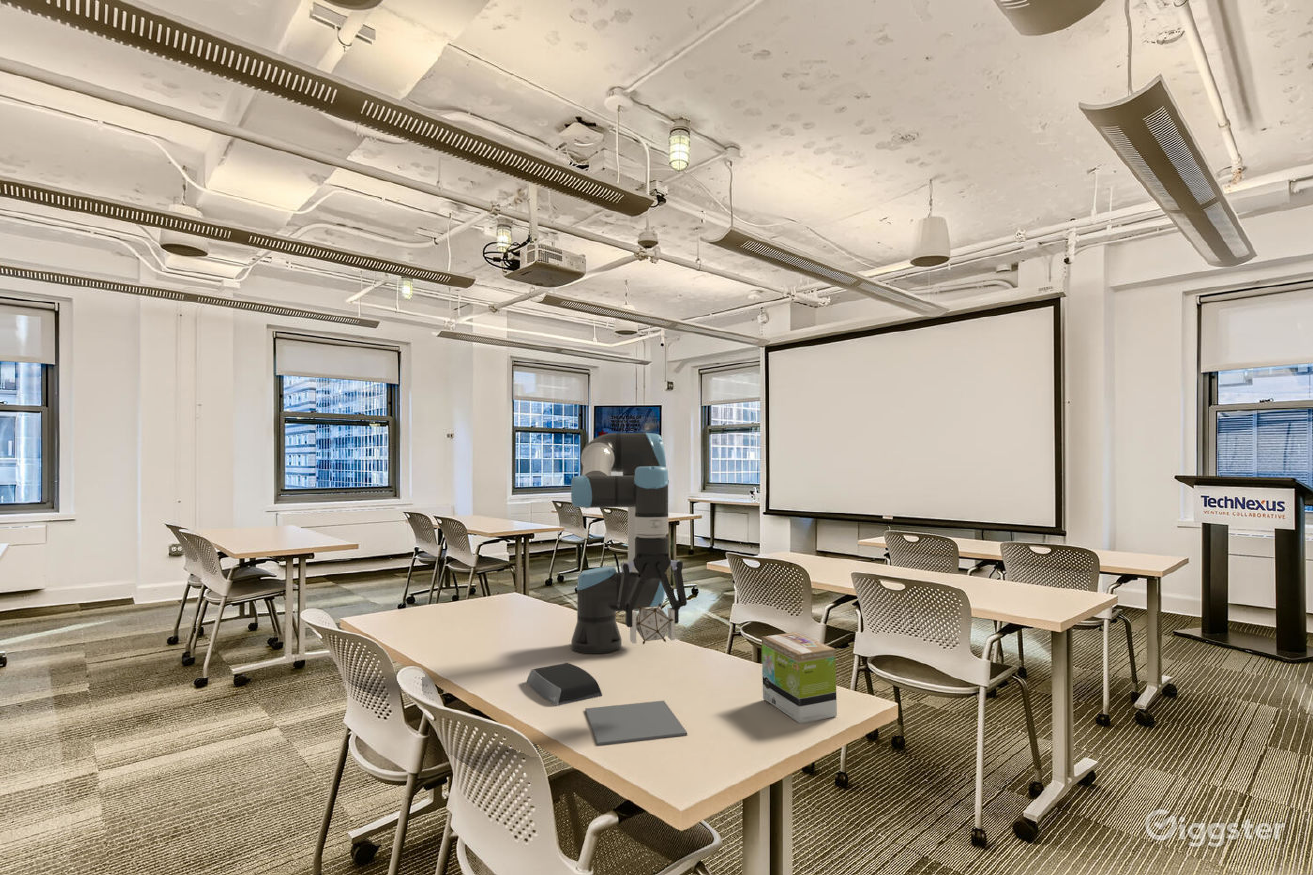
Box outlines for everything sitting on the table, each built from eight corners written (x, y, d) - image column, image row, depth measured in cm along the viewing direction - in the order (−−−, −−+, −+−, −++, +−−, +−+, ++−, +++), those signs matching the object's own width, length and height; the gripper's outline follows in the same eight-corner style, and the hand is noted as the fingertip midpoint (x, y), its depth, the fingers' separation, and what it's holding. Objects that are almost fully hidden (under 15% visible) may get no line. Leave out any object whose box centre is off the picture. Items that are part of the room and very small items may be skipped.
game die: (659, 660, 133) (666, 630, 128) (623, 645, 135) (629, 614, 130) (672, 631, 141) (680, 601, 135) (638, 617, 143) (645, 586, 137)
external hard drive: (553, 709, 138) (553, 690, 138) (523, 684, 154) (523, 667, 155) (605, 697, 145) (605, 679, 145) (571, 675, 161) (571, 659, 162)
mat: (585, 710, 136) (585, 708, 136) (663, 702, 140) (663, 700, 140) (597, 745, 118) (597, 742, 118) (687, 735, 123) (687, 732, 123)
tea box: (761, 700, 141) (759, 635, 142) (797, 694, 145) (796, 630, 146) (799, 724, 127) (797, 652, 128) (838, 717, 131) (837, 647, 132)
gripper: (608, 538, 130) (609, 648, 128) (701, 535, 135) (702, 641, 134) (602, 535, 137) (602, 639, 136) (690, 533, 143) (691, 632, 141)
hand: (652, 640), depth 135 cm, fingers closed on game die, 8 cm apart
